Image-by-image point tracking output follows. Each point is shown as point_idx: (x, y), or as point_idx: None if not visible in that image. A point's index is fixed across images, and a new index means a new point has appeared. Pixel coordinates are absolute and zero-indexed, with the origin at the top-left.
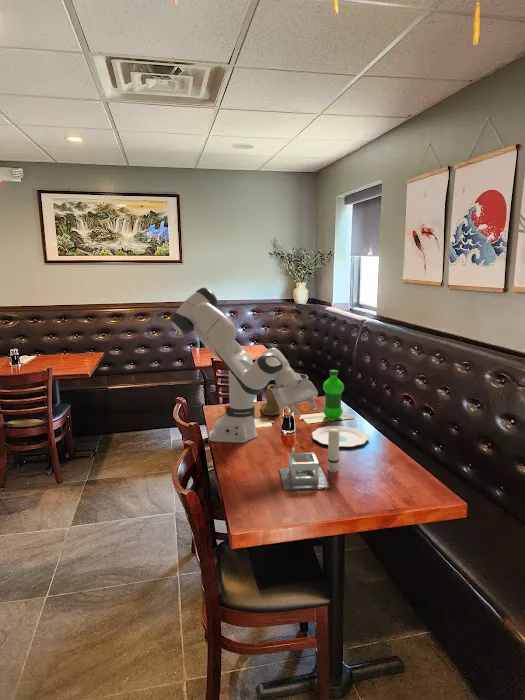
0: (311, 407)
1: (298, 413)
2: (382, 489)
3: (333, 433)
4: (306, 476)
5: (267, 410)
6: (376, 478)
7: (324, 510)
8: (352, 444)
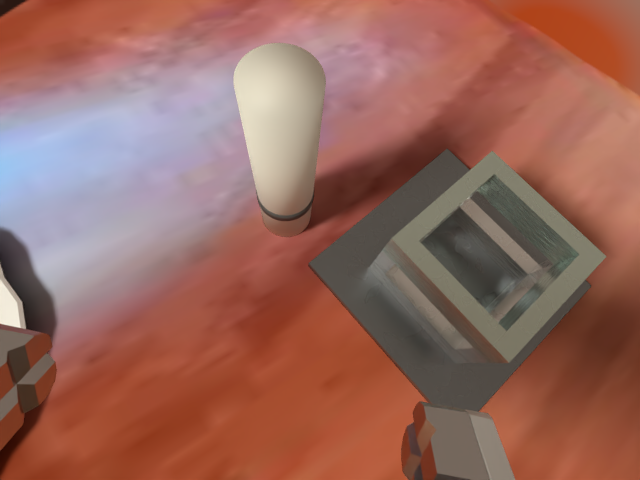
0: (17, 411)
1: (478, 412)
2: (322, 17)
3: (321, 73)
4: (487, 234)
5: None
6: None
7: (573, 107)
8: None
